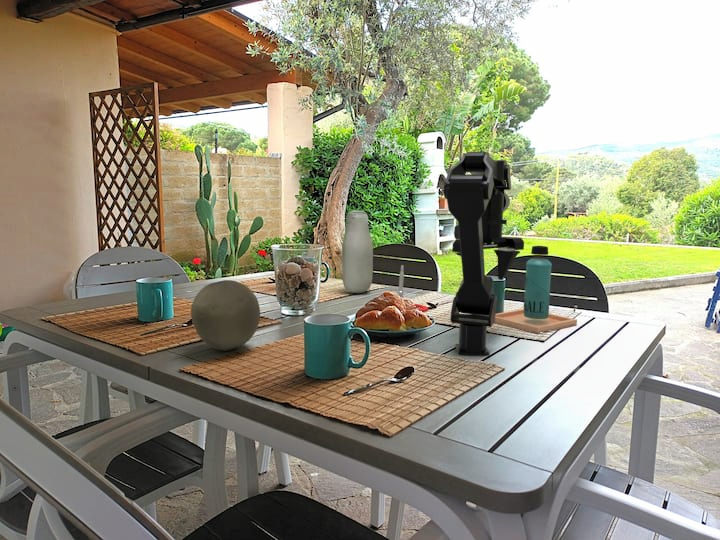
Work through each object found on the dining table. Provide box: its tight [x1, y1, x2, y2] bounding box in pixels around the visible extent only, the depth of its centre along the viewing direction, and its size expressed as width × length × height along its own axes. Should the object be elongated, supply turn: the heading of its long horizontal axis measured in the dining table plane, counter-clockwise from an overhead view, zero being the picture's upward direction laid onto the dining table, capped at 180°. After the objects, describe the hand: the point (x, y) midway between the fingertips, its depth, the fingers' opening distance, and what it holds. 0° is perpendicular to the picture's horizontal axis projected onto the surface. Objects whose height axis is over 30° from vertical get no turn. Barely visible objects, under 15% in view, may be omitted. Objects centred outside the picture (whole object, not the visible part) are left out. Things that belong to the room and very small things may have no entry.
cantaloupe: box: [190, 279, 261, 352], centre depth 110 cm, size 14×14×15 cm
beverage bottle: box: [522, 245, 553, 319], centre depth 135 cm, size 6×7×20 cm
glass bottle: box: [341, 209, 374, 294], centre depth 175 cm, size 10×10×28 cm
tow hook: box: [397, 264, 429, 313], centre depth 151 cm, size 8×13×9 cm
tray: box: [494, 308, 578, 334], centre depth 137 cm, size 16×16×2 cm
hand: (487, 281), depth 123 cm, fingers open, 9 cm apart
